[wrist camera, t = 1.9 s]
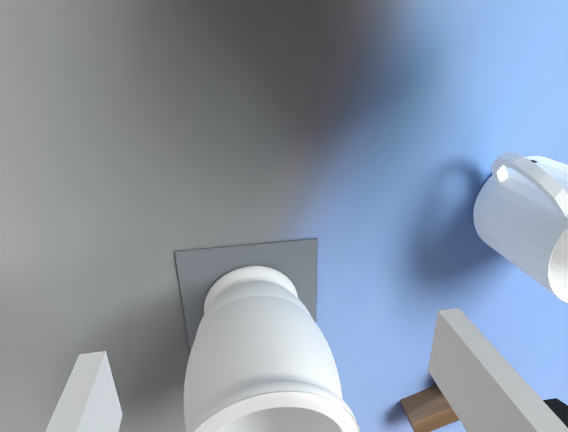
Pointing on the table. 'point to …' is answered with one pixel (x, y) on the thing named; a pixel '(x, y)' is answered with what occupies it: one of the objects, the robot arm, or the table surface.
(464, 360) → the robot arm
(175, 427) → the table surface
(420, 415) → the t block
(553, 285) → the mug
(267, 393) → the jar
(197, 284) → the mat
